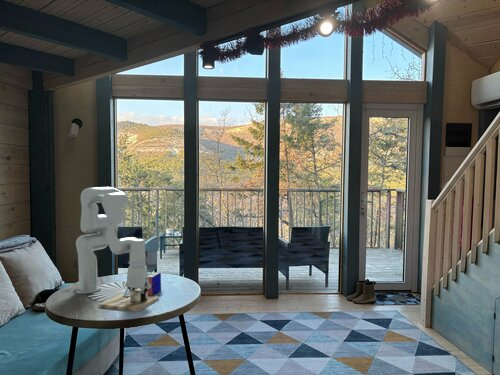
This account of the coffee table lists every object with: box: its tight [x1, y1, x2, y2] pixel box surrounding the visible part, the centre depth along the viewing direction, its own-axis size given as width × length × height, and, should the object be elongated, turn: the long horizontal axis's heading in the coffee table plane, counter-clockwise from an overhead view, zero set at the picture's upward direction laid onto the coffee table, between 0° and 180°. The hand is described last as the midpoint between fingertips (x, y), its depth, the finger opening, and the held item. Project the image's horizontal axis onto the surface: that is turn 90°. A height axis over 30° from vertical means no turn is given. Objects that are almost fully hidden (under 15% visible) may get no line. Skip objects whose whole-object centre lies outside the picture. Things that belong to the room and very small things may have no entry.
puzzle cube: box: [135, 271, 162, 296], centre depth 198 cm, size 10×10×10 cm
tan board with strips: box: [98, 292, 160, 313], centre depth 181 cm, size 22×18×2 cm
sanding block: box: [129, 288, 149, 303], centre depth 180 cm, size 5×7×5 cm
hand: (138, 299), depth 180 cm, fingers closed on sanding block, 5 cm apart
